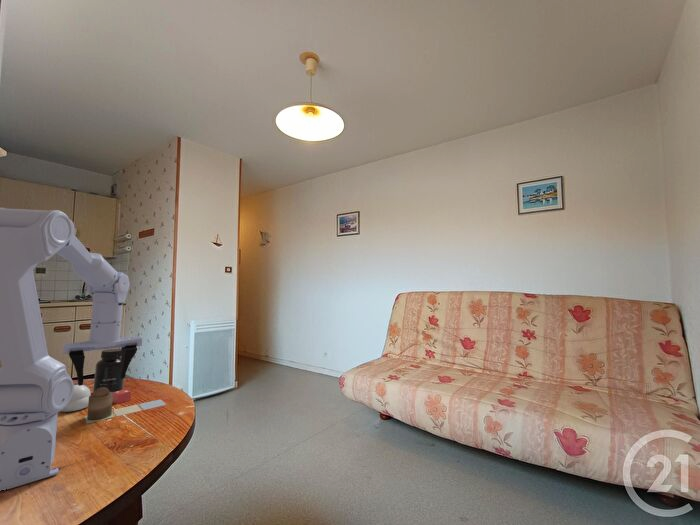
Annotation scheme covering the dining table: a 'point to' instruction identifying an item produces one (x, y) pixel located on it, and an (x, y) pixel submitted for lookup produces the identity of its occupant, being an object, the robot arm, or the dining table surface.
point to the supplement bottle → (109, 371)
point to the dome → (78, 399)
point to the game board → (132, 409)
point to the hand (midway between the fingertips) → (102, 380)
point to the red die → (121, 396)
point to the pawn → (100, 404)
